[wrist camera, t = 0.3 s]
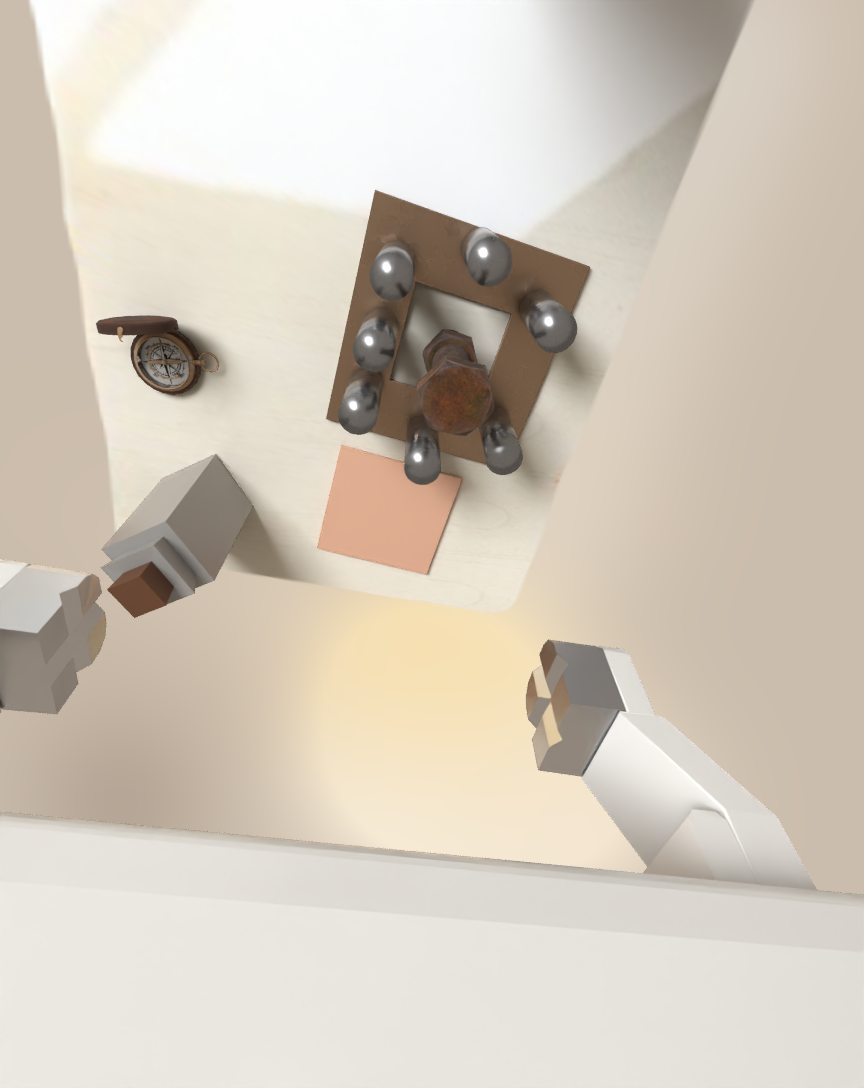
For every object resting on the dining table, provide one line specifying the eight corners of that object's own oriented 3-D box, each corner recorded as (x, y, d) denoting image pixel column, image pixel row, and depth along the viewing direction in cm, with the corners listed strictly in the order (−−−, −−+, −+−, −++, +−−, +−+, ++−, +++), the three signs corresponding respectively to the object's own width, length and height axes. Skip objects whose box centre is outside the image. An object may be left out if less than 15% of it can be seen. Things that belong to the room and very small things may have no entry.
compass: (145, 392, 54) (110, 420, 48) (120, 305, 50) (78, 323, 44) (228, 392, 55) (203, 420, 48) (211, 305, 50) (181, 323, 44)
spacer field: (375, 188, 45) (366, 191, 38) (589, 264, 49) (619, 281, 41) (326, 417, 56) (311, 455, 48) (504, 468, 59) (516, 510, 52)
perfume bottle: (202, 527, 63) (131, 638, 48) (162, 478, 59) (73, 580, 44) (253, 505, 61) (197, 613, 46) (215, 453, 58) (142, 551, 43)
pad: (341, 444, 58) (340, 446, 57) (461, 477, 60) (461, 479, 59) (317, 546, 64) (317, 548, 64) (426, 572, 67) (426, 574, 66)
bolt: (486, 327, 51) (507, 377, 39) (470, 380, 54) (484, 442, 42) (425, 310, 51) (425, 355, 38) (412, 365, 53) (408, 424, 41)
